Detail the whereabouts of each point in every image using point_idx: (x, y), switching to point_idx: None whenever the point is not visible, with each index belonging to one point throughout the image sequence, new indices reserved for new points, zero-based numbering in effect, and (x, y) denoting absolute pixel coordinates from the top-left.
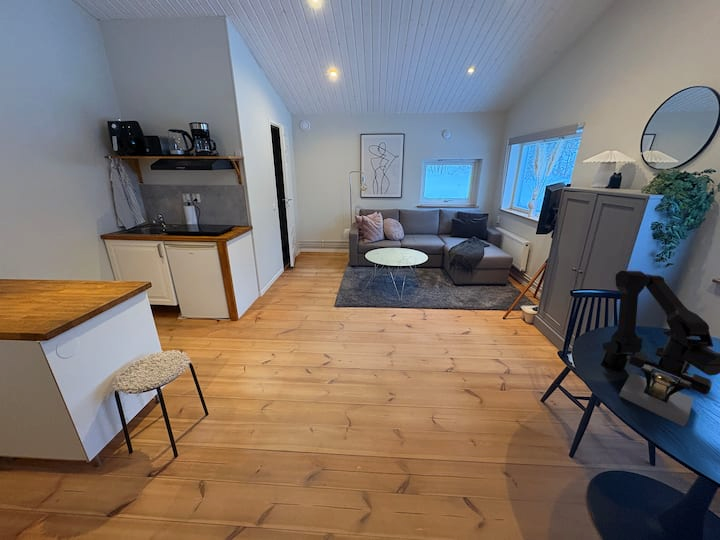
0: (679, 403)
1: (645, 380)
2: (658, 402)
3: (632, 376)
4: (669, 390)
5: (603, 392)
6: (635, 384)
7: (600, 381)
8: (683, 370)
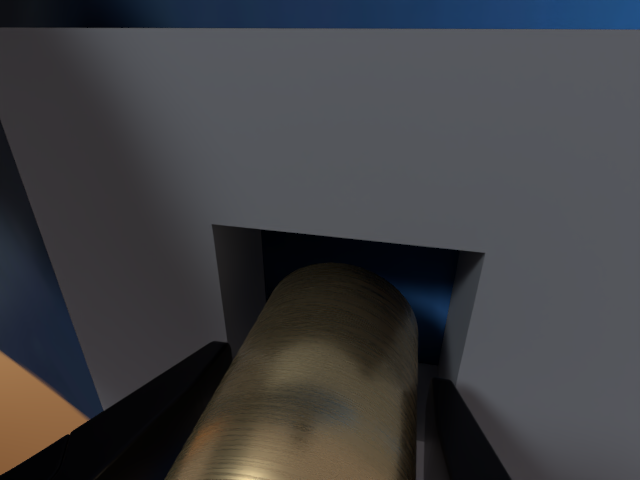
0: (574, 378)
1: (164, 114)
2: None
3: (40, 153)
4: (436, 438)
5: (101, 409)
6: (140, 316)
7: (18, 303)
8: None
